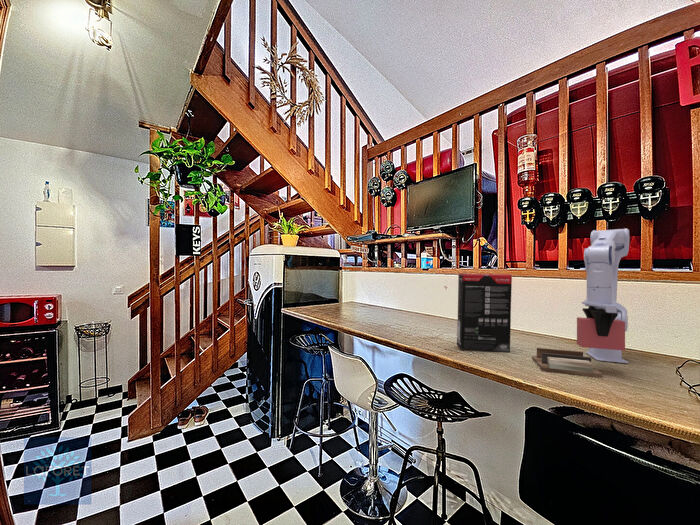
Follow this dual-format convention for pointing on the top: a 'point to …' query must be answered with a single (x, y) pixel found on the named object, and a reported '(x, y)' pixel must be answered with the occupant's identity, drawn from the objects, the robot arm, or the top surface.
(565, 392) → the top surface
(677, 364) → the top surface
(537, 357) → the rack
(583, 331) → the red rectangular block
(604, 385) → the top surface
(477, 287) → the graphics card box
